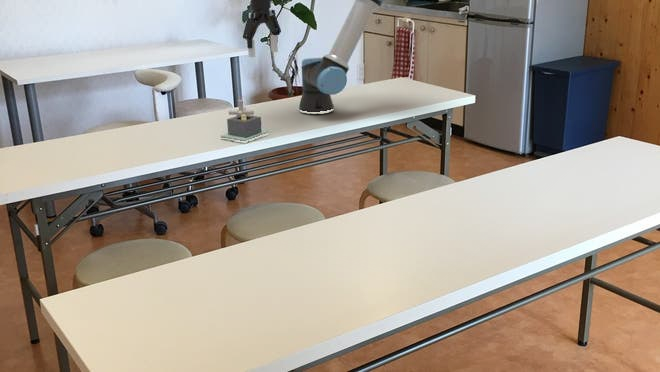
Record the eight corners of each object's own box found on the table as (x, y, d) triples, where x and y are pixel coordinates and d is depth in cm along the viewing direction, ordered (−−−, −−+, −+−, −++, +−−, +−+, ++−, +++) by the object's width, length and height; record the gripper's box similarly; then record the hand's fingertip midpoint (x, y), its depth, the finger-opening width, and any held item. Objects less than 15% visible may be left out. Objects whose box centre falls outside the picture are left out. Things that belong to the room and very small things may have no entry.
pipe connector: (256, 121, 292) (255, 97, 289) (251, 127, 283) (250, 103, 280) (232, 121, 293) (231, 97, 290) (227, 127, 284) (225, 103, 281)
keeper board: (245, 130, 279) (243, 108, 276) (268, 135, 272) (267, 112, 269) (220, 139, 268) (219, 116, 265) (244, 143, 261) (243, 120, 258)
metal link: (243, 129, 275) (243, 114, 273) (261, 132, 270) (260, 117, 268) (228, 134, 268) (227, 119, 266) (246, 137, 264) (245, 122, 262)
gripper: (273, -5, 281) (276, 49, 288) (230, 0, 262) (234, 58, 269) (288, -5, 277) (290, 50, 284) (246, 1, 257) (249, 59, 265)
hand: (263, 54), depth 276 cm, fingers open, 13 cm apart
